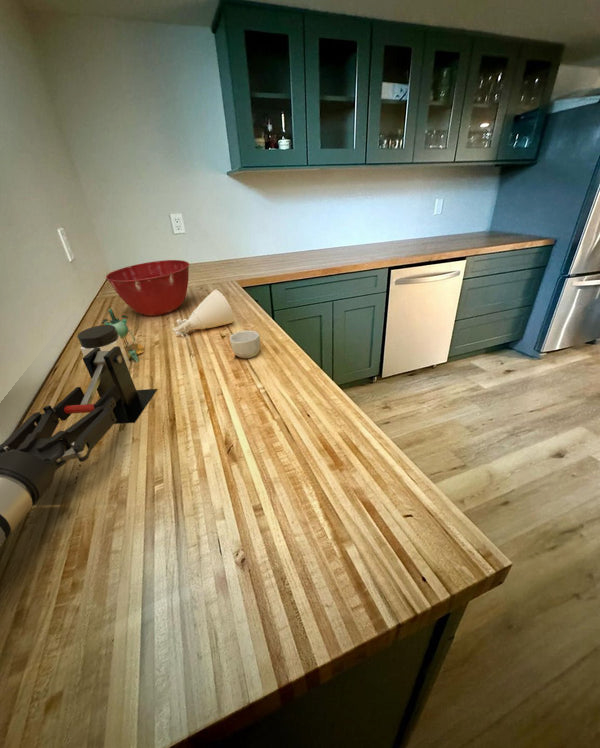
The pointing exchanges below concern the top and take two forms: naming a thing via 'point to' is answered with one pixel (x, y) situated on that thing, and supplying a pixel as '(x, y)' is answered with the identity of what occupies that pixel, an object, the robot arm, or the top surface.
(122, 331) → the frog figurine
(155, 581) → the top surface
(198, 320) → the rocket engine
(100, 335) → the jar
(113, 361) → the bracket
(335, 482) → the top surface
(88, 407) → the lever
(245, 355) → the teacup
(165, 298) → the mixing bowl
